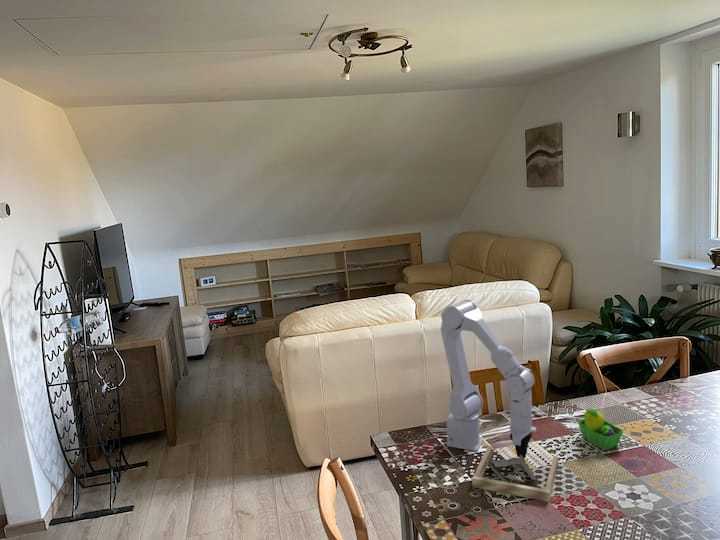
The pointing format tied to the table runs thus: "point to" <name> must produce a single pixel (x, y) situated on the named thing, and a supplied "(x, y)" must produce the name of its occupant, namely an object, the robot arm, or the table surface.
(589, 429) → the fruit basket
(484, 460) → the frame
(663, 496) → the table surface
